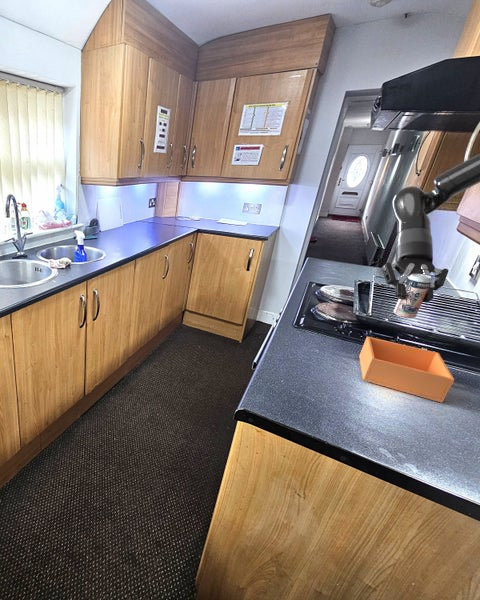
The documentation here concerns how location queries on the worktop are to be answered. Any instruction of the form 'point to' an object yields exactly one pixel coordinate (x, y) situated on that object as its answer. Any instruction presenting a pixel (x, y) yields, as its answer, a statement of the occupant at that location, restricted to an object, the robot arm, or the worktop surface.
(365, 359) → the tote
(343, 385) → the worktop surface
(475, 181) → the robot arm
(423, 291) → the beer can
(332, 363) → the worktop surface
